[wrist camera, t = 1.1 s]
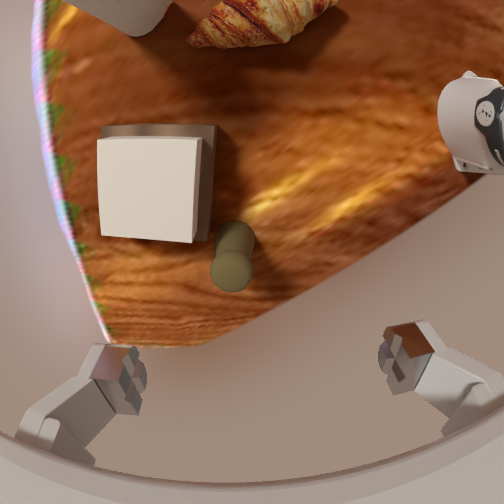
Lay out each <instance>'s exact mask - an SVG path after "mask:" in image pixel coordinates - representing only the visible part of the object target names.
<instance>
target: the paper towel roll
mask: <svg viewBox="0 0 504 504" xmlns="http://www.w3.org/2000/svg"><path fill="white" fill-rule="evenodd" d="M62 1H65V2H67V3H69V4H71V5H73V6H75V7H77V8H79V9H81V10H83V11H85V12H87V13H89V14H91V15H93V16H95V17H97V18H99V19H100V20H102V21H104V22H106V23H108V24H110V25H111V26H113V27H115V28H117V29H118V30H120V31H122V32H124V33H125V34H127V35H129V36H135V37H138V36H142V35H145V34H147V33H148V32H150V31H152V30H153V29H154V28H155V26H156V25H157V24H158V23H159V22H160V21H161V19H162V18H163V16H164V14H165V11H166V8H167V7H168V5H169V4H170V3H171V2H172V1H173V0H62Z"/></svg>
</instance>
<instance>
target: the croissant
mask: <svg viewBox="0 0 504 504" xmlns="http://www.w3.org/2000/svg"><path fill="white" fill-rule="evenodd" d="M338 1H339V0H223V1H222V2H221V3H220V4H218V5H217V6H215V7H214V8H213V9H212V11H211V13H210V16H209V17H208V19H207V18H205V19H203V20H201V21H200V22H199V23H197V25H196V26H195V28H194V30H193V31H192V32H191V33H190V35H188V36H187V37H186V41H187V43H188V44H189V45H191V46H192V47H198V48H201V47H204V46H211V45H212V46H215V47H217V48H223V49H226V48H234V47H247V46H250V47H257V46H261V45H267V44H278V43H281V44H283V43H287V42H288V41H289V40H290V38H291V37H293V36H294V35H296V34H298V33H300V32H302V31H303V29H304V26H305V25H306V24H307V23H308V22H310V21H311V20H313V19H314V18H317V17H319V16H320V15H321V14H322V13H323V11H325V10H326V9H328V8H330V7H331V6H333V5H334V4H336V3H337V2H338Z"/></svg>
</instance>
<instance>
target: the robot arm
mask: <svg viewBox="0 0 504 504" xmlns="http://www.w3.org/2000/svg"><path fill="white" fill-rule="evenodd" d="M438 123H439V128H440V131H441V134H442V137H443V139H444V141H445V143H446V145H447V147H448V149H449V150H450V152H451V154H452V156H453V161H454V165H455V168H456V169H457V170H458V171H460V172H474V173H487V174H498V175H504V87H503V86H502V85H501V84H500V83H499V82H498V81H497V80H495V79H489V78H479V77H478V76H476V75H475V74H474V73H473V72H472V71H466V72H465V73H464V75H463V76H462V77H461V78H459V79H457V80H454V81H452V82H450V83H449V84H448V85H447V86H446V87H445V88H444V89H443V91H442V93H441V95H440V98H439V102H438ZM464 163H466V166H465V167H463V164H464ZM491 168H492V169H491ZM383 337H384V339H385V341H384V342H383V343H382V344H381V345H380V348H379V352H378V361H379V365H380V368H381V370H382V371H383V372H384V373H386V374H388V378H387V383H388V385H389V387H390V389H391V391H392V393H393V395H396V394H400V393H404V392H408V391H411V390H414V391H415V392H416V393H417V394H419V395H420V396H422V397H423V398H424V399H425V400H426V401H428V402H429V403H430V404H432V405H433V406H434V407H436V408H437V409H438V410H439V411H441V412H442V413H443V414H445V415H446V416H447V417H448V418H450V419H449V420H448V421H447V423H446V424H445V425H444V427H443V428H442V430H441V432H442V434H443V436H444V437H443V438H441V439H438V440H436V441H434V442H432V443H429V444H427V445H424V446H421V447H419V448H416V449H414V450H411V451H408V452H405V453H402V454H399V455H396V456H393V457H390V458H387V459H384V460H380V461H377V462H373V463H370V464H366V465H362V466H358V467H355V468H350V469H346V470H341V471H336V472H331V473H326V474H320V475H315V476H309V477H301V478H294V479H285V480H275V481H262V482H243V483H242V482H240V483H211V482H189V481H177V480H166V479H158V478H151V477H144V476H138V475H132V474H127V473H122V472H117V471H112V470H108V469H103V468H99V467H95V466H94V464H95V458H94V456H93V455H92V454H91V453H90V452H89V451H88V450H87V449H85V447H86V446H87V445H88V444H89V443H90V442H91V440H93V438H94V437H95V436H96V435H97V434H98V433H99V432H100V431H101V430H102V429H103V428H104V427H105V426H106V424H108V423H109V422H110V420H111V419H112V418H113V417H114V416H115V415H116V413H120V414H129V415H138V414H139V411H140V407H141V403H142V398H141V396H140V393H142V392H143V391H144V390H145V388H146V384H147V373H146V368H145V366H144V363H142V362H141V361H140V360H139V359H138V357H139V352H138V350H137V347H135V346H130V345H116V344H100V343H95V344H94V345H92V347H91V349H90V351H89V353H88V355H87V357H86V359H85V361H84V363H83V365H82V367H81V369H80V371H79V373H78V375H77V377H74V376H73V377H72V378H70V379H69V380H67V381H66V382H65V383H63V384H62V385H60V386H59V387H58V388H56V389H55V390H54V391H52V392H51V393H50V394H48V395H47V396H45V397H44V398H42V399H41V400H40V401H38V402H37V403H35V404H34V405H33V406H31V407H30V408H29V409H27V411H26V413H25V415H24V417H23V419H22V422H21V424H20V426H19V428H18V431H17V433H16V435H15V437H14V438H13V437H11V436H9V435H7V434H5V433H3V432H1V431H0V504H504V378H503V377H502V375H501V374H500V373H499V372H497V371H496V370H494V369H492V368H490V367H488V366H486V365H484V364H482V363H480V362H478V361H476V360H474V359H472V358H470V357H468V356H466V355H464V354H462V353H460V352H458V351H456V350H454V349H452V348H447V347H446V346H445V344H444V343H443V341H442V340H441V339H440V337H439V336H438V335H437V333H436V332H435V331H434V329H433V328H432V327H431V325H430V324H429V323H428V321H426V320H424V319H423V320H418V321H414V322H410V323H405V324H400V325H395V326H390V327H387V328H386V329H385V331H384V335H383Z"/></svg>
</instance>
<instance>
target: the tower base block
mask: <svg viewBox="0 0 504 504" xmlns="http://www.w3.org/2000/svg"><path fill="white" fill-rule="evenodd" d="M217 135H218V125H204V124H121V125H110V126H102V127H101V139H103V138H108V137H118V136H175V137H200V138H202V151H201V165H200V180H199V198H198V219H197V232H196V234H195V237H194V239H193V240H194V241H206V242H207V240H208V237H209V234H210V230H211V220H212V202H213V187H214V172H215V159H216V147H217Z"/></svg>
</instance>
